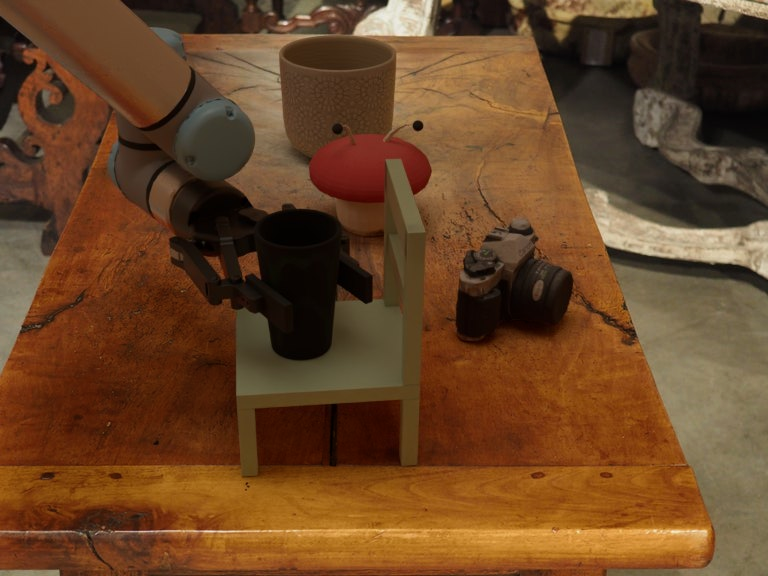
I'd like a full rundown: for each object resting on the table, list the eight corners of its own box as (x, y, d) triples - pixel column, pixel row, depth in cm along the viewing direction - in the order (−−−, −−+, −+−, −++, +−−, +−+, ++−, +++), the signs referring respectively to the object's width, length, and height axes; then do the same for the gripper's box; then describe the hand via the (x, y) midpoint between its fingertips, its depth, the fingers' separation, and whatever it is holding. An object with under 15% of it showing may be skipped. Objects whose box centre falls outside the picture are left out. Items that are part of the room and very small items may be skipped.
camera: (531, 364, 113) (539, 281, 108) (444, 337, 117) (448, 256, 112) (584, 299, 125) (594, 222, 120) (503, 276, 129) (510, 201, 124)
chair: (241, 477, 96) (225, 240, 84) (240, 381, 109) (226, 164, 97) (417, 465, 98) (426, 231, 86) (396, 372, 111) (401, 158, 99)
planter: (317, 182, 152) (315, 78, 144) (262, 143, 164) (258, 45, 157) (416, 158, 160) (419, 58, 152) (357, 122, 172) (357, 28, 165)
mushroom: (324, 258, 132) (322, 145, 125) (298, 204, 146) (295, 99, 138) (445, 244, 136) (450, 133, 129) (409, 193, 149) (412, 90, 142)
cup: (335, 317, 103) (334, 205, 97) (350, 361, 97) (349, 243, 90) (255, 325, 102) (248, 212, 95) (264, 371, 95) (258, 251, 89)
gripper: (289, 216, 115) (421, 305, 100) (111, 271, 105) (228, 380, 89) (287, 152, 112) (424, 233, 96) (102, 201, 101) (222, 302, 85)
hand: (330, 304), depth 92 cm, fingers closed on cup, 8 cm apart
